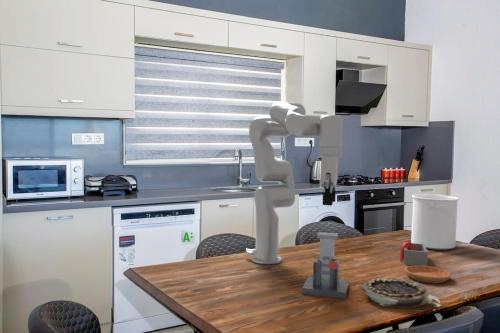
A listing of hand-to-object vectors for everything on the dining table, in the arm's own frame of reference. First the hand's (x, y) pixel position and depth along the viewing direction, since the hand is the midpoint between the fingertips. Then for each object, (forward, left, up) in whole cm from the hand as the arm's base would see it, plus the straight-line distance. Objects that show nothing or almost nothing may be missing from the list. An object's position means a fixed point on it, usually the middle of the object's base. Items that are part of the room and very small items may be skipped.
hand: (329, 203), depth 156 cm
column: (0, 0, -28) cm, 28 cm away
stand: (0, 0, -30) cm, 30 cm away
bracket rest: (+32, +52, -30) cm, 68 cm away
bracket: (+32, +52, -30) cm, 68 cm away
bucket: (+43, +86, -30) cm, 101 cm away
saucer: (+35, +27, -30) cm, 54 cm away
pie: (+22, -1, -30) cm, 38 cm away
